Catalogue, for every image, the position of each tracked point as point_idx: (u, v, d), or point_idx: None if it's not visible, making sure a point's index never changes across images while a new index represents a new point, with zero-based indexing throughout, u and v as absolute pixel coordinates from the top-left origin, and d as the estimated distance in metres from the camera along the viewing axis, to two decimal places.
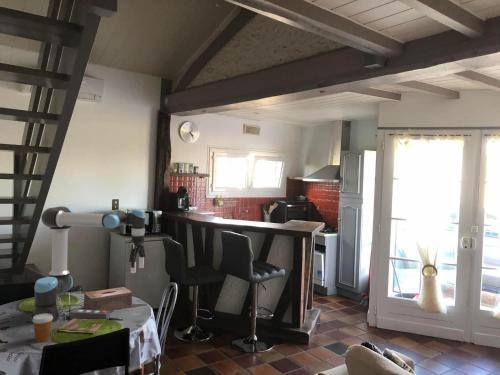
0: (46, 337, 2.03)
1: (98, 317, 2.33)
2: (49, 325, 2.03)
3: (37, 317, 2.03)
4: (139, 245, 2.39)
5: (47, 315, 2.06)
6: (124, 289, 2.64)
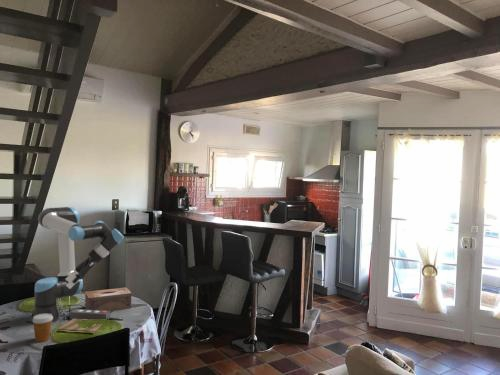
0: (46, 337, 2.03)
1: (98, 317, 2.33)
2: (49, 325, 2.03)
3: (37, 317, 2.03)
4: None
5: (47, 315, 2.06)
6: (125, 290, 2.63)
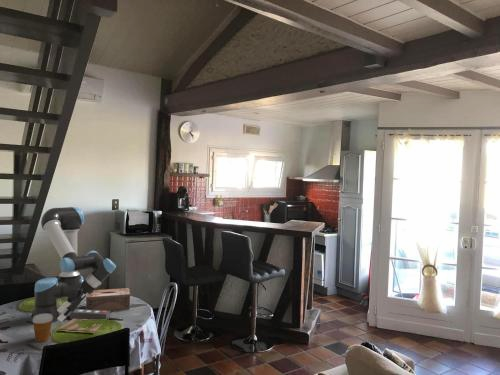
0: (46, 337, 2.03)
1: (98, 317, 2.33)
2: (49, 325, 2.03)
3: (37, 317, 2.03)
4: None
5: (47, 315, 2.06)
6: (126, 290, 2.61)
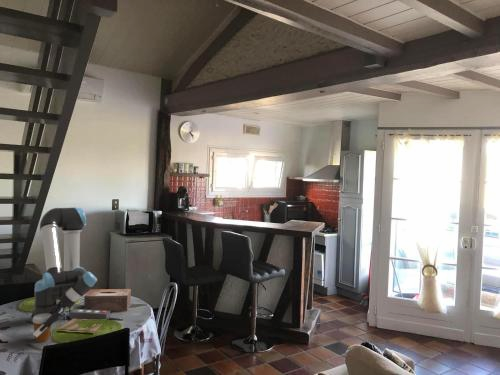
0: (46, 337, 2.03)
1: (98, 317, 2.33)
2: None
3: (37, 317, 2.03)
4: (63, 309, 2.07)
5: (47, 315, 2.06)
6: (126, 291, 2.59)
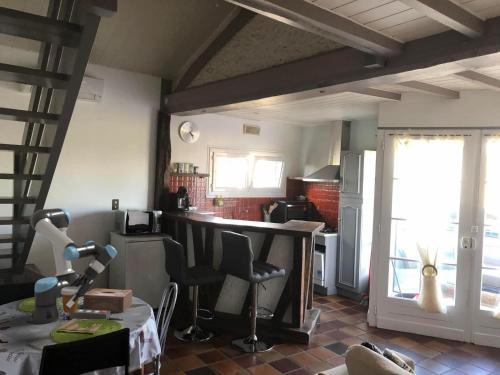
0: (75, 308, 2.13)
1: (98, 317, 2.33)
2: None
3: (65, 290, 2.12)
4: None
5: (73, 287, 2.16)
6: (125, 292, 2.57)
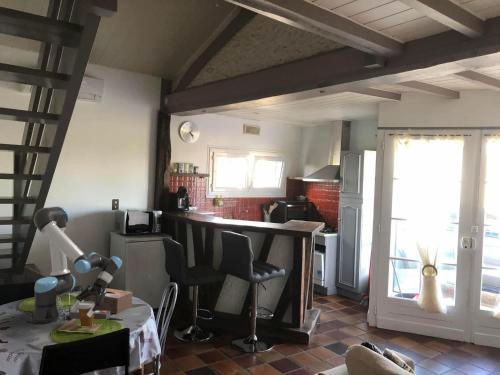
0: None
1: (98, 317, 2.33)
2: None
3: (83, 304, 2.20)
4: None
5: (88, 302, 2.24)
6: (123, 294, 2.54)
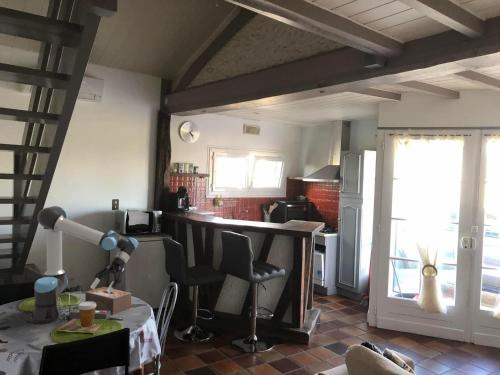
0: None
1: (98, 317, 2.33)
2: None
3: (83, 305, 2.19)
4: None
5: (88, 302, 2.24)
6: (122, 294, 2.52)
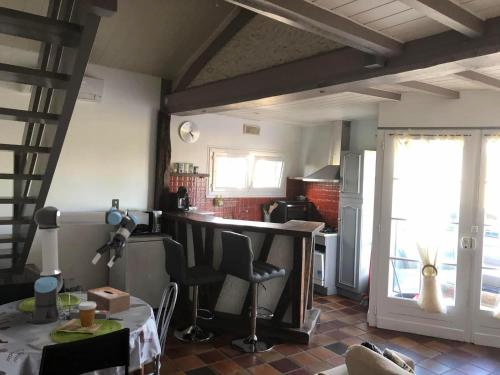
0: None
1: (98, 317, 2.33)
2: None
3: (83, 305, 2.19)
4: None
5: (88, 302, 2.24)
6: (120, 295, 2.50)
